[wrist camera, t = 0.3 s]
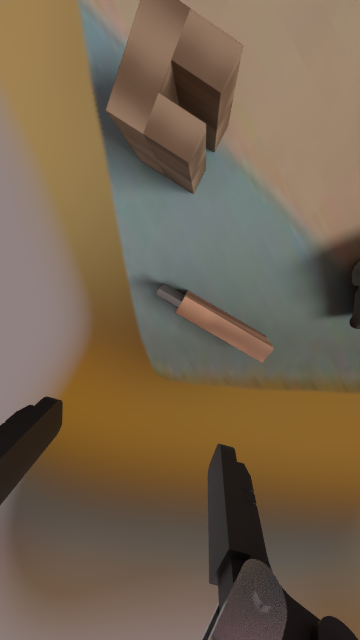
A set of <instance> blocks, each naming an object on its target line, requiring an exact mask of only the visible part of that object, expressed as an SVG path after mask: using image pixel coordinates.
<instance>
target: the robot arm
mask: <svg viewBox="0 0 360 640" xmlns="http://www.w3.org/2000/svg"><path fill="white" fill-rule="evenodd" d="M62 404H63V403H62V401H61V400H58V399H54V398H51V397H44V398H43V399H41V400H40V401H39V402H38V403H37V404H36V405H35V406H33V405H29V406H27V407H25V408H23V409H21V410H19V411H17V412H16V413H14V414H13V415H12V416H11V417H10V418H9V419H7V420H6V421H5V423H3V424H2V425H0V505H1V504H2V502H3V501H4V500H5V499H6V497H7V496H8V495H9V494H10V493H11V491H12V490H13V489H14V487H15V486H16V485H17V484H18V483H19V481H20V480H21V479H22V478H23V476H24V475H25V474H26V473H27V471H28V470H29V469H30V468H31V466H32V465H33V464H34V463H35V461H36V460H37V459H38V458H39V457H40V455H41V454H42V453H43V451H44V450H45V449H46V448H47V447H48V445H49V444H50V443H51V441H52V440H53V439H54V438H55V437H56V435H57V434H58V432H59V430H60V428H61V425H62ZM253 492H254V491H253V486H252V480H251V476H250V474H249V473H248V471H247V469H246V467H245V465H244V464H243V463H239V462H237V459H236V453H235V449H234V448H233V447H230V446H226V445H222V444H218V445H217V447H216V450H215V452H214V454H213V457H212V460H211V462H210V465H209V469H208V526H209V527H208V530H209V531H208V532H209V583H210V584H213V585H217V586H218V590H219V591H218V593H219V603H218V605H217V607H216V609H215V611H214V613H213V616H212V618H211V620H210V622H209V624H208V626H207V629H206V631H205V633H204V635H203V637H202V639H201V640H358V639H357V638H356V636H355V635H354V634H353V632H352V631H351V630H350V629H349V628H348V627H347V626H346V625H345V624H344V623H342V622H341V621H340V620H338V619H337V618H334V617H332V616H326V617H324V618H322V619H321V620H320V619H318V618H317V617H316V616H314V615H313V614H312V613H311V612H309V611H308V610H306V609H305V608H304V607H303V606H301V605H300V604H299V603H298V602H296V601H295V600H294V599H293V598H291V597H290V596H289V595H288V594H287V593H286V591H285V590H284V589H283V588H282V586H281V585H280V583H279V581H278V580H277V578H276V576H275V575H274V573H273V571H272V569H271V567H270V564H269V561H268V557H267V553H266V548H265V543H264V539H263V533H262V529H261V524H260V519H259V514H258V509H257V506H256V500H255V495H254V493H253Z"/></svg>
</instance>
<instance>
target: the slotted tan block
mask: <svg viewBox="0 0 360 640" xmlns="http://www.w3.org/2000/svg"><path fill="white" fill-rule="evenodd" d="M242 48H243V44H241V43H240V42H238V41H237V40H235V39H234V38H233V37H231V36H230V35H228V34H227V33H225V32H224V31H222V30H221V29H220V28H218V27H217V26H215V25H214V24H212V23H211V22H209V21H208V20H207V19H205V18H204V17H202V16H201V15H199V14H198V13H196V12H195V11H194V10H192V9H191V8H189V7H188V6H186V5H185V4H183V3H182V2H181V1H179V0H140V2H139V6H138V9H137V12H136V15H135V18H134V22H133V25H132V28H131V31H130V34H129V38H128V41H127V44H126V47H125V50H124V54H123V57H122V60H121V63H120V66H119V70H118V73H117V76H116V79H115V83H114V86H113V89H112V92H111V95H110V99H109V102H108V105H107V108H106V111H107V113H108V114H109V115H110V117H111V118H112V120H113V121H114V123H115V124H116V126H117V127H118V128H119V130H120V131H121V133H122V134H123V136H124V137H125V139H126V140H127V141H128V143H129V144H130V146H131V147H132V149H133V150H134V152H135V153H136V154H137V156H138V157H139V159H140V160H141V161H142V162H144V163H145V164H147V165H149V166H150V167H152V168H153V169H155V170H157V171H158V172H160V173H161V174H163V175H165V176H166V177H168V178H169V179H171V180H173V181H174V182H176V183H177V184H179V185H181V186H182V187H184V188H185V189H187V190H189V191H190V192H192V193H193V194H194V192H195V190H196V188H197V186H198V184H199V182H200V180H201V178H202V176H203V174H204V172H205V169H206V147H207V148H209V149H210V150H212V151H214V152H215V150H216V148H217V146H218V144H219V142H220V140H221V138H222V136H223V134H224V132H225V130H226V128H227V126H228V123H229V117H230V112H231V107H232V102H233V96H234V91H235V86H236V80H237V75H238V70H239V64H240V59H241V54H242Z"/></svg>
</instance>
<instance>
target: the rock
mask: <svg viewBox="0 0 360 640" xmlns="http://www.w3.org/2000/svg"><path fill="white" fill-rule="evenodd" d="M351 277H352V283H353V284H354V285H356V286H359V287H358V289H357V291H356V293H355V301H354V311H353V316H352V318H351V319H350V325H351V326H352V327H353V328H356V329H360V260H359V261H358V263H357V264H356V265H355V267H354V269H353V271H352V276H351Z"/></svg>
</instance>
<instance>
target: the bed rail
mask: <svg viewBox="0 0 360 640" xmlns="http://www.w3.org/2000/svg"><path fill="white" fill-rule="evenodd" d="M156 295H158V296H160V297H162V298H163V299H165V300H167V301H169V302H170V303H172V304H174V305H175V306H177V307H178V308H177V311H176V313H177V314H179V315H180V316H182V317H184V318H186V319H187V320H189V321H191V322H193V323H194V324H196V325H198V326H200V327H201V328H203V329H205V330H206V331H208V332H210V333H212V334H213V335H215V336H217V337H219V338H220V339H222V340H224V341H226V342H227V343H229V344H231V345H233V346H234V347H236V348H238V349H239V350H241V351H243V352H245V353H246V354H248V355H250V356H252V357H253V358H255V359H257V360H259V361H260V362H263V361H264V360H265V359H266V357H267V356H268V355H269V354H270V353H271V352H272V350H273V349H274V347H273V346H272V345H271V343H270V342H269V340H268V339H267V338H266V336H265V335H263V334H261V333H260V332H258V331H256V330H255V329H253V328H251V327H249V326H248V325H246V324H244V323H243V322H241V321H239V320H238V319H236V318H234V317H232V316H231V315H229V314H227V313H226V312H224V311H222V310H221V309H219V308H217V307H215V306H214V305H212V304H210V303H209V302H207V301H205V300H203V299H202V298H200V297H198V296H197V295H195V294H193V293H192V292H190V291H187V292H186V294H185V295H184V294H182V293H180V292H179V291H177V290H175V289H173V288H172V287H170V286H168V285H167V284H164V285H163V286H161V287H160V288H159V289H158V291H157V293H156Z"/></svg>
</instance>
